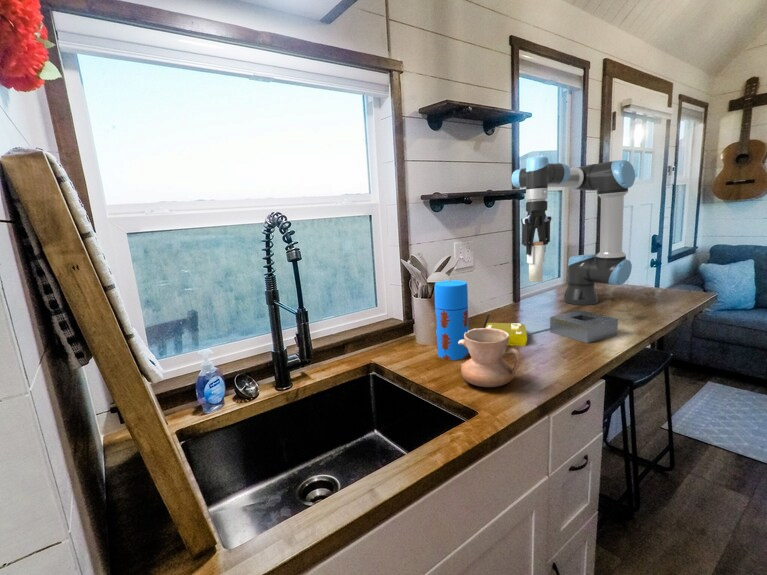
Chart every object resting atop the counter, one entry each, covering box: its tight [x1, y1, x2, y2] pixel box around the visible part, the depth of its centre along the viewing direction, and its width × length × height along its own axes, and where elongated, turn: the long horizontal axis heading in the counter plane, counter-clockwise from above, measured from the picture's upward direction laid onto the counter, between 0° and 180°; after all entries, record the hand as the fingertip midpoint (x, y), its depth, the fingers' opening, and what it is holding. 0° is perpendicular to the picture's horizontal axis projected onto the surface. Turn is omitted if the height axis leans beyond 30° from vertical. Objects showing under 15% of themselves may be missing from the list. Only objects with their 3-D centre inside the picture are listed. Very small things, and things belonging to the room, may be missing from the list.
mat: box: [520, 320, 550, 336], centre depth 153 cm, size 12×12×1 cm
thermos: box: [434, 279, 469, 361], centre depth 129 cm, size 11×11×25 cm
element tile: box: [485, 322, 528, 347], centre depth 143 cm, size 15×15×5 cm
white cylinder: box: [528, 241, 544, 283], centre depth 146 cm, size 5×5×15 cm
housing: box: [549, 309, 619, 344], centre depth 143 cm, size 16×16×6 cm
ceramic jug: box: [458, 327, 522, 388], centre depth 107 cm, size 18×14×14 cm
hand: (535, 262), depth 146 cm, fingers closed on white cylinder, 5 cm apart
